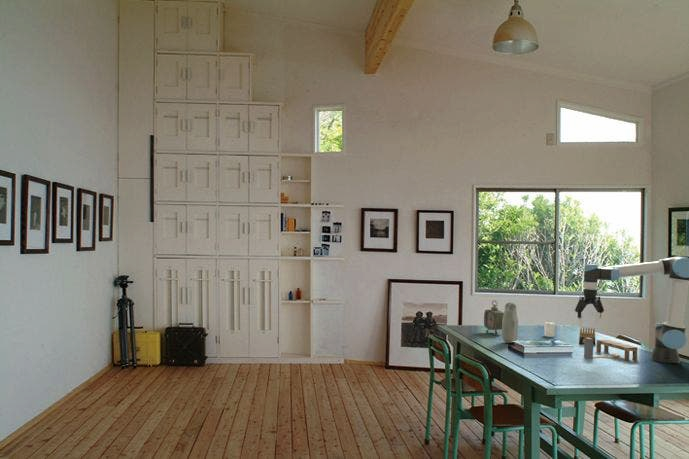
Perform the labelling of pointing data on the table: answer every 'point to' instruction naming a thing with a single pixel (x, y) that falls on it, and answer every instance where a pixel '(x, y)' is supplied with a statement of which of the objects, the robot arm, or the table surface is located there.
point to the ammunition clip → (586, 335)
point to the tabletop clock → (493, 319)
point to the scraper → (589, 350)
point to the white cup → (549, 329)
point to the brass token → (615, 355)
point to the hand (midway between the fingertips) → (589, 323)
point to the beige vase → (510, 323)
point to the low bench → (618, 346)
